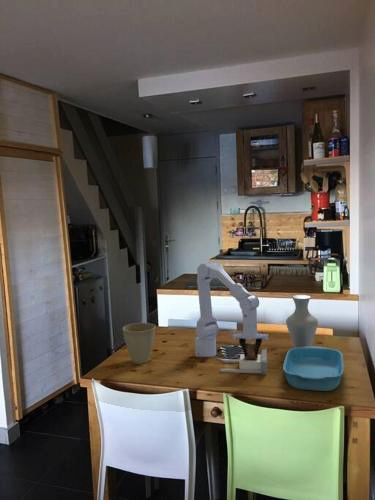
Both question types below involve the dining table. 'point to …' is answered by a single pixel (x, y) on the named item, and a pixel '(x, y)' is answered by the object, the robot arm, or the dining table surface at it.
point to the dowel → (251, 351)
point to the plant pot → (139, 341)
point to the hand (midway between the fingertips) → (251, 356)
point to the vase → (301, 323)
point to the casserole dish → (313, 368)
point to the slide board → (238, 369)
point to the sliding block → (250, 363)
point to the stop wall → (264, 362)
